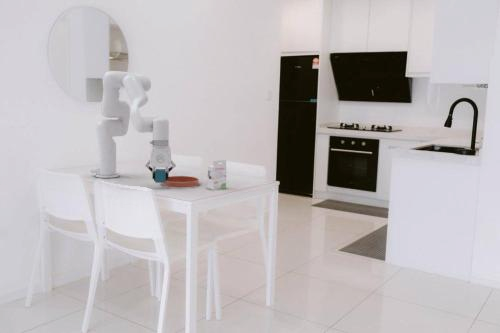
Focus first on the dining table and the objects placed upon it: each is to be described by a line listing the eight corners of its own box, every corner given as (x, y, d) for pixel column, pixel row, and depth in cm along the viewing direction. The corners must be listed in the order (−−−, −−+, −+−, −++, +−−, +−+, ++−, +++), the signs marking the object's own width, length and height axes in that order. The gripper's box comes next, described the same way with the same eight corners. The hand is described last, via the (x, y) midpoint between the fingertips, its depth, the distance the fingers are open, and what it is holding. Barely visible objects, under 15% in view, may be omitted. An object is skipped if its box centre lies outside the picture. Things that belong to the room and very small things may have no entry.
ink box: (220, 186, 244) (221, 158, 241) (226, 188, 240) (227, 159, 238) (206, 188, 238) (207, 159, 236) (212, 190, 234) (213, 160, 232)
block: (155, 182, 229) (155, 170, 228) (155, 180, 234) (155, 168, 233) (165, 182, 230) (165, 170, 229) (165, 180, 235) (165, 169, 234)
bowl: (161, 188, 235) (161, 182, 234) (162, 181, 254) (162, 175, 253) (199, 188, 238) (200, 182, 238) (197, 181, 257) (198, 176, 256)
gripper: (142, 144, 224) (142, 181, 227) (178, 144, 227) (178, 181, 229) (143, 142, 231) (143, 179, 234) (178, 143, 234) (177, 179, 237)
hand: (160, 180), depth 232 cm, fingers closed on block, 5 cm apart
